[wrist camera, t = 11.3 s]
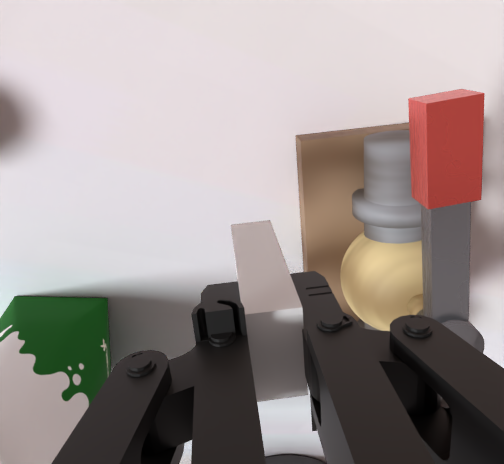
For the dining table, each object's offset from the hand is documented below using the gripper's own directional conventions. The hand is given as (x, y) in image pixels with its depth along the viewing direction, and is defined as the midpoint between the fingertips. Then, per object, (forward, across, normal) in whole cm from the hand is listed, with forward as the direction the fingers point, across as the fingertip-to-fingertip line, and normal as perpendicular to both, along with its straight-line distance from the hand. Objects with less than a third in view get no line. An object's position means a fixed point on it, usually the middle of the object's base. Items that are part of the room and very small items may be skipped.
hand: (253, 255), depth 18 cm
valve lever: (+6, +10, -3) cm, 12 cm away
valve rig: (+17, +11, -9) cm, 22 cm away
